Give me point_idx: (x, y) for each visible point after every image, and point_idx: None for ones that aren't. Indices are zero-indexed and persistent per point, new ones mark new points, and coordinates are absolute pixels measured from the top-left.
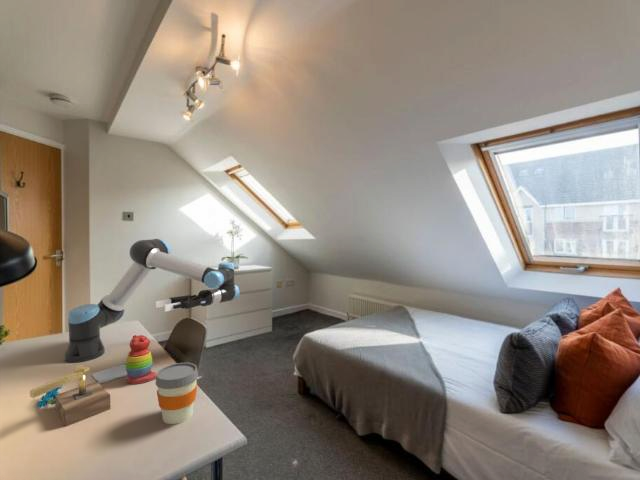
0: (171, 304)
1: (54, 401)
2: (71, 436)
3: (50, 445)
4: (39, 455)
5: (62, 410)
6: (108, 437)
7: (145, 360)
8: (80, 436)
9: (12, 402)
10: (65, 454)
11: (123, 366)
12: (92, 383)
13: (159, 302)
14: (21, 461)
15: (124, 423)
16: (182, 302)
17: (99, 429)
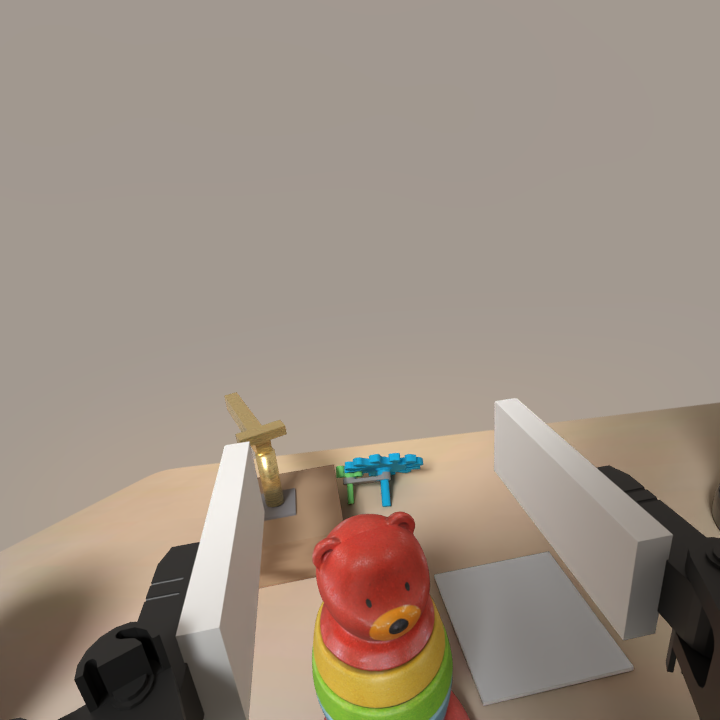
0: (213, 503)
1: (343, 480)
2: (170, 528)
3: (177, 503)
4: (162, 494)
5: None
6: (69, 587)
7: (316, 663)
8: (149, 541)
9: (443, 441)
10: (113, 523)
11: (596, 663)
12: (338, 521)
13: (514, 437)
14: (173, 479)
15: (83, 625)
16: (108, 666)
17: (131, 571)
